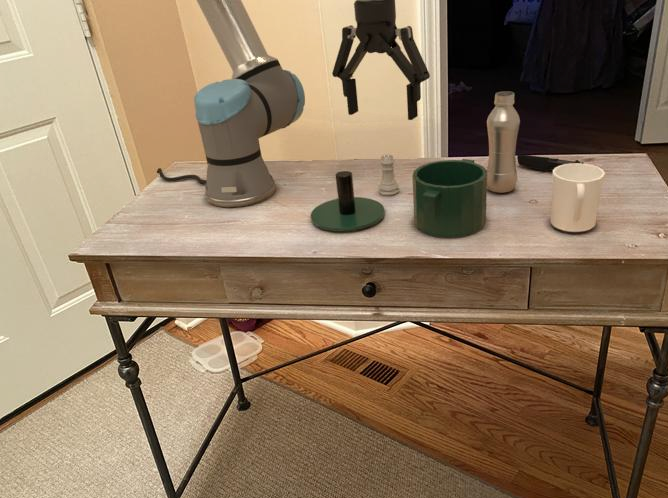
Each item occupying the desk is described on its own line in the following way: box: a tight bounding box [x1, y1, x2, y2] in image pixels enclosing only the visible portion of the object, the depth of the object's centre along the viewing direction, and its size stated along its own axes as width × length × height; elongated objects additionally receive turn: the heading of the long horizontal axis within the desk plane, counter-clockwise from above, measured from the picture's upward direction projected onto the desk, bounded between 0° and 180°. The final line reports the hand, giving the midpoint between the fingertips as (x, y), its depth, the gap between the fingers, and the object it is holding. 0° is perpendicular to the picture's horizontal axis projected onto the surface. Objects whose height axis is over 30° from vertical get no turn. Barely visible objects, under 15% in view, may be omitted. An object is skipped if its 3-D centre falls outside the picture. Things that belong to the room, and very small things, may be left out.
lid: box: [310, 170, 386, 232], centre depth 120 cm, size 15×15×9 cm
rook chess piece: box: [378, 154, 400, 197], centre depth 130 cm, size 4×4×8 cm
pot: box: [412, 158, 488, 239], centre depth 115 cm, size 14×19×10 cm
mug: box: [549, 163, 606, 235], centre depth 110 cm, size 11×9×10 cm
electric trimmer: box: [516, 153, 585, 172], centre depth 136 cm, size 4×16×3 cm, turn 58°
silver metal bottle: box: [486, 91, 521, 194], centre depth 124 cm, size 6×7×20 cm
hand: (382, 115), depth 122 cm, fingers open, 13 cm apart
